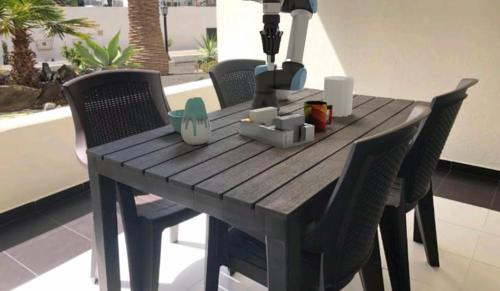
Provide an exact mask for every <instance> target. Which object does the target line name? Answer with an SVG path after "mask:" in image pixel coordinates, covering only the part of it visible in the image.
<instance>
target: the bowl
mask: <svg viewBox="0 0 500 291" xmlns="http://www.w3.org/2000/svg"><path fill="white" fill-rule="evenodd" d="M184 110H185V108H183V109H182V108H181V109H175V110H174V109H173V110H171V111H169V112H167V116H168V119H169V121H170V123H171V125H172V128H173V130H174V131H175V132H176V133H178V134H181V124H182V119H183V115H184Z"/></svg>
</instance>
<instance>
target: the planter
mask: <svg viewBox="0 0 500 291" xmlns="http://www.w3.org/2000/svg"><path fill="white" fill-rule="evenodd" d="M291 92H292V91H290V90H277V97H278V101H280V102H281V101H285V100H287V99H288V98H290V95H291Z"/></svg>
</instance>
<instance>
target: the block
mask: <svg viewBox="0 0 500 291" xmlns="http://www.w3.org/2000/svg"><path fill="white" fill-rule="evenodd" d="M248 113H249V114H248V118H249V120H251V121H253V123H257V122H264V123H265V126H266V127H269V126H274V119H275V118H277V116H278V110H277V108H275V107H266V108H261V109H255V110H253V109H251V110H249V111H248Z"/></svg>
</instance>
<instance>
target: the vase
mask: <svg viewBox="0 0 500 291" xmlns="http://www.w3.org/2000/svg"><path fill="white" fill-rule="evenodd" d="M184 109H185V110H184V115H183V119H182V124H181V133H180V134H181V137H182V139H183V141H184V142H185V143H186V144H188V145H192V146H200V145H203V144H206V143H207V142H208V141H209V140H210V138H211V134H212V127H211V123H210V122H211V121H210V118H209V115H208V112H207V108H206V104H205V101H204V100H203V98H202V97H201V96H198V97H195V96H194V97H190V98H188V99H187V100H186V102H185V106H184Z"/></svg>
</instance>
